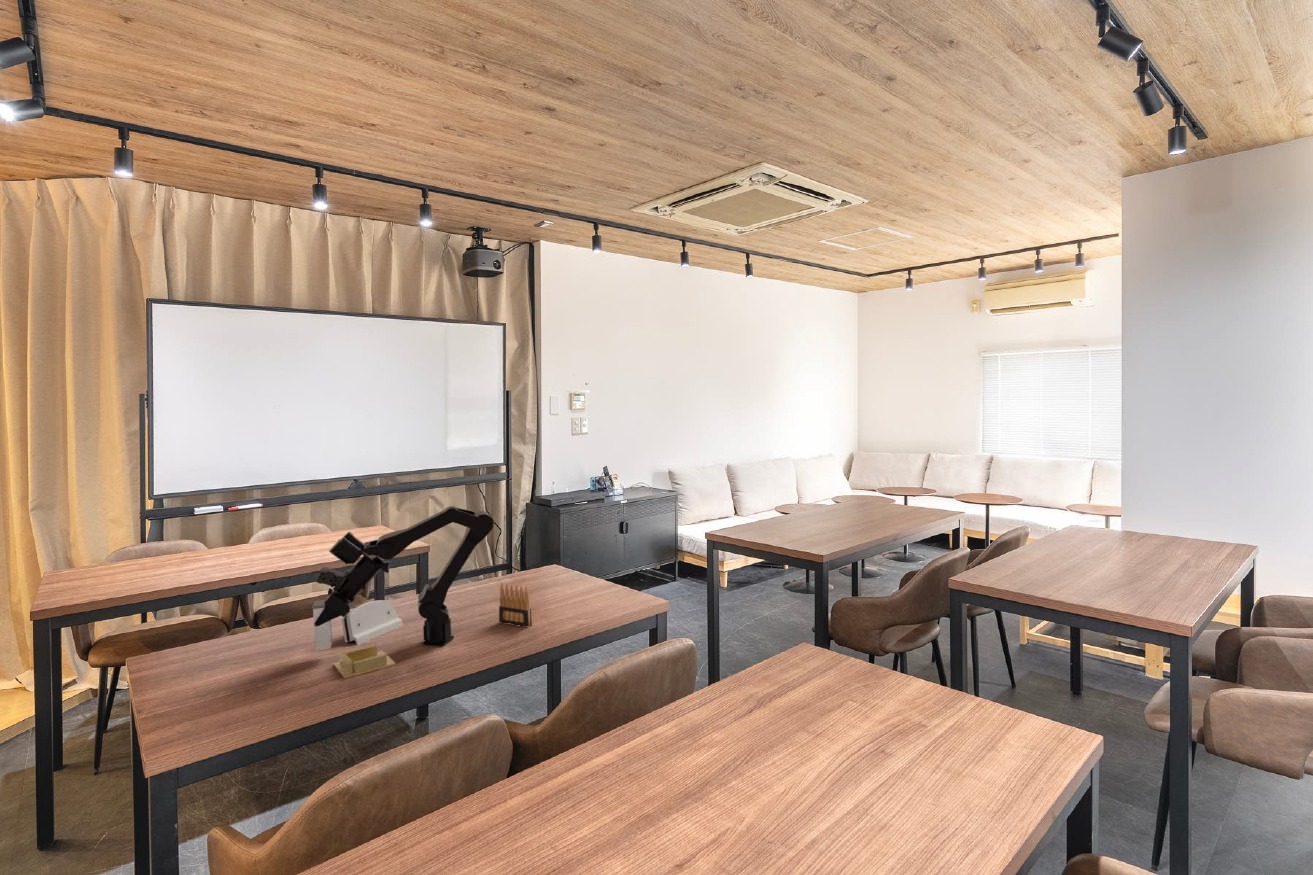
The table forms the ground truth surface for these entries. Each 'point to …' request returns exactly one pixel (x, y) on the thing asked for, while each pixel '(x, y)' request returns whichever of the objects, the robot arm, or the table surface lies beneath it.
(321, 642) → the bar
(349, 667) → the strike pocket
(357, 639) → the white rounded housing
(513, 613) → the ammunition clip
